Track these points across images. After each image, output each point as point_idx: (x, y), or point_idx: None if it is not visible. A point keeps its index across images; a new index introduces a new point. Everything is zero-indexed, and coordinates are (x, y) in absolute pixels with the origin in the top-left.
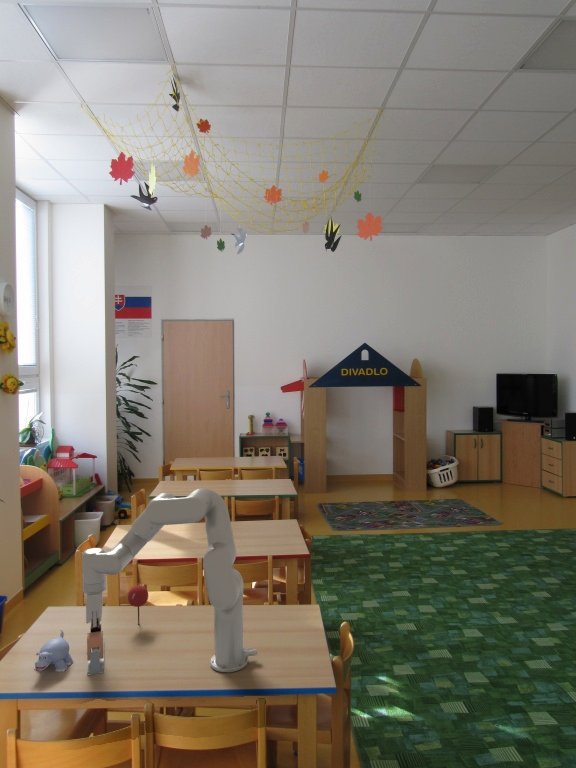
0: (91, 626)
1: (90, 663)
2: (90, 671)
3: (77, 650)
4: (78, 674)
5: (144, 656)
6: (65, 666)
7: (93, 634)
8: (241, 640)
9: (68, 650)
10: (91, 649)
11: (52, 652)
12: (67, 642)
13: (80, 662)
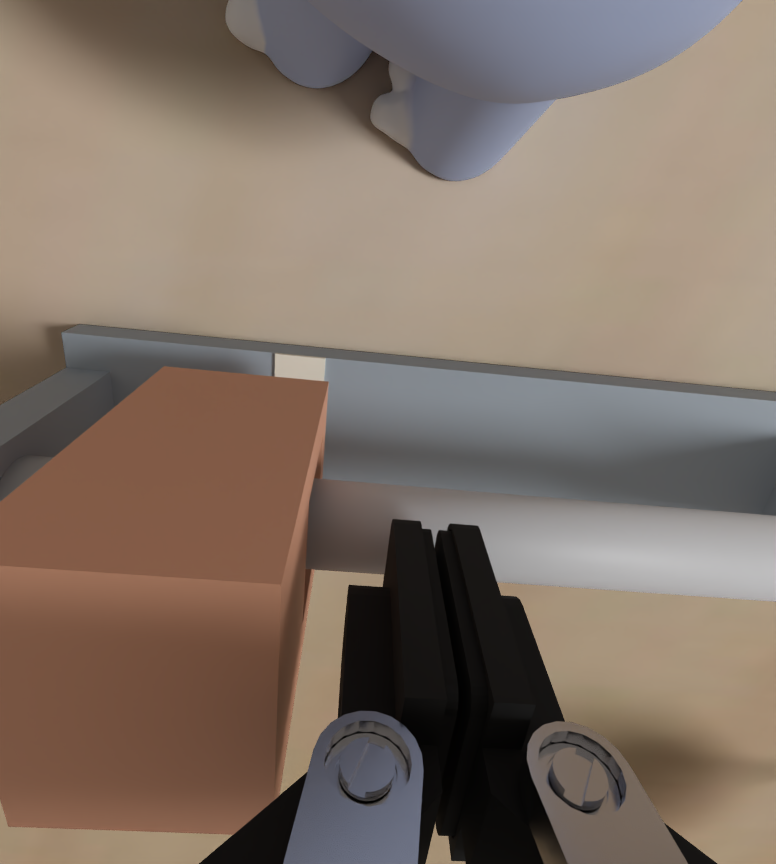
0: (298, 824)
1: (6, 404)
2: (65, 368)
3: (725, 247)
4: (116, 227)
5: (291, 754)
6: (292, 53)
7: (150, 695)
8: None
9: (426, 79)
10: (592, 409)
11: None
12: (591, 37)
13: (402, 266)
